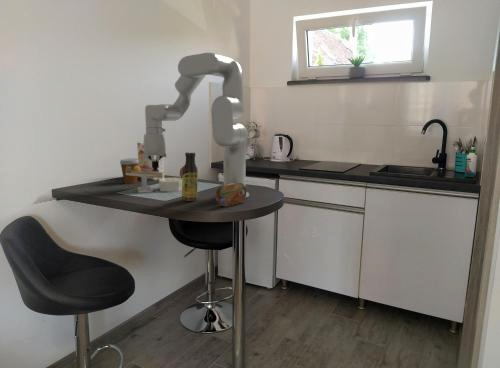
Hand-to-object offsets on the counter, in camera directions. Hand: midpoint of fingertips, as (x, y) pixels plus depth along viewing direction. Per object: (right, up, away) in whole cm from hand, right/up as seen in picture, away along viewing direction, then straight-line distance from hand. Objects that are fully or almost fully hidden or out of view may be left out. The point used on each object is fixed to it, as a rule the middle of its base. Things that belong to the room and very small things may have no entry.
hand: (155, 169), depth 179 cm
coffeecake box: (-9, -4, +27) cm, 29 cm away
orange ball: (-6, 0, -11) cm, 12 cm away
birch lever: (-4, -3, -6) cm, 8 cm away
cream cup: (+9, -10, -4) cm, 13 cm away
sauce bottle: (+21, -14, -26) cm, 37 cm away
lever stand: (-3, -10, -8) cm, 13 cm away
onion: (+14, -6, +15) cm, 21 cm away
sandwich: (+38, -16, -33) cm, 53 cm away
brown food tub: (-16, -7, +12) cm, 21 cm away
